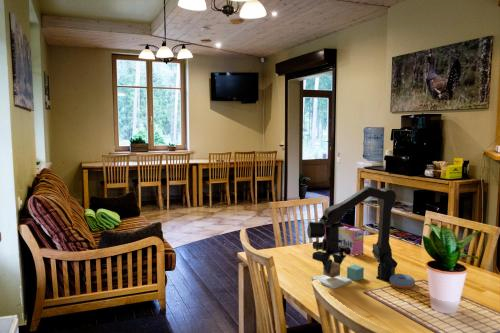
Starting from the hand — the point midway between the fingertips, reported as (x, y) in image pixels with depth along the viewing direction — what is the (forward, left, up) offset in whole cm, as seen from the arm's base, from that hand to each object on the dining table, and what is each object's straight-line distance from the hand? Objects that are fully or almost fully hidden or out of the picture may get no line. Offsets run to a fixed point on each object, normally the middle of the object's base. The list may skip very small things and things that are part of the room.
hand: (331, 272), depth 172 cm
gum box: (+27, -40, -4) cm, 49 cm away
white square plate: (0, 0, -4) cm, 4 cm away
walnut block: (0, 0, -1) cm, 1 cm away
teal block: (-4, -11, -4) cm, 12 cm away
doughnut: (-21, -19, -4) cm, 29 cm away
